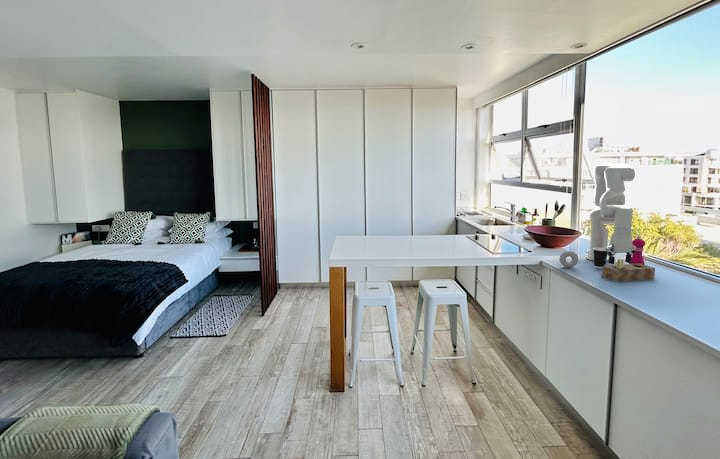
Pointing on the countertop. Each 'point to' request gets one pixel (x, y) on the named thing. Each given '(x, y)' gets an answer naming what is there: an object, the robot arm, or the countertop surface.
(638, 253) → the pepper mill
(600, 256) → the dixie cup
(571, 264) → the donut
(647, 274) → the hole block
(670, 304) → the countertop surface
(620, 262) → the brass peg
